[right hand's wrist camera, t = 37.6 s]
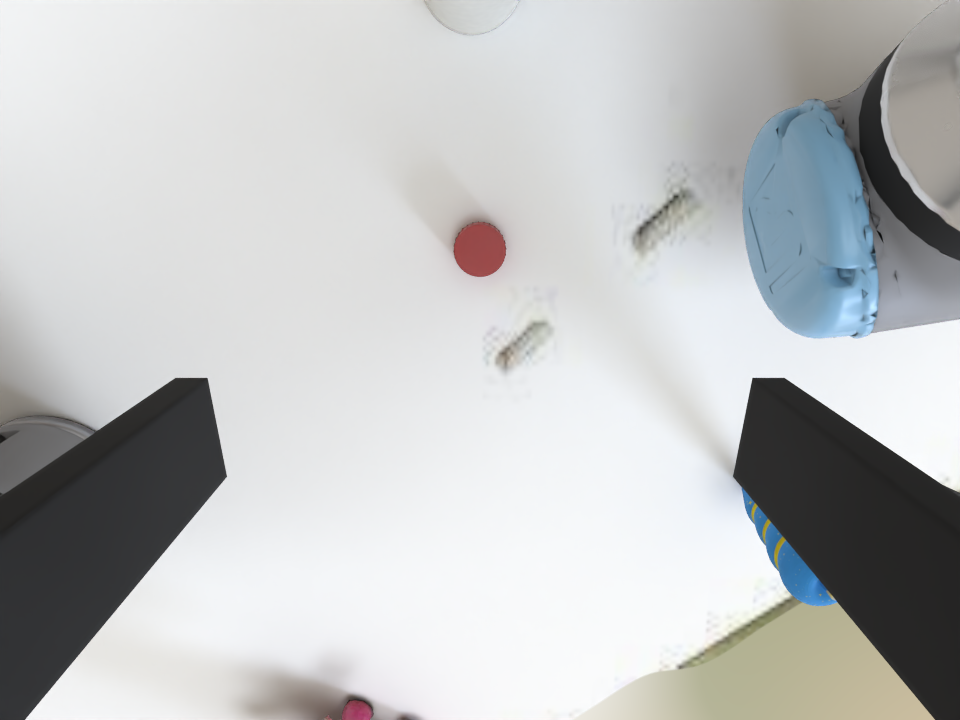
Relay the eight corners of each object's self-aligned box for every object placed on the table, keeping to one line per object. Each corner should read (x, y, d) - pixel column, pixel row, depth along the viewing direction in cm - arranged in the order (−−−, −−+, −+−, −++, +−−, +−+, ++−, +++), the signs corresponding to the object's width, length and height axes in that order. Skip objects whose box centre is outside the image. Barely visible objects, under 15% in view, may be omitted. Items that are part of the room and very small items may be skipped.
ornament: (741, 515, 52) (838, 643, 38) (705, 488, 51) (792, 610, 37) (781, 480, 50) (897, 600, 36) (745, 452, 49) (851, 564, 35)
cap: (466, 280, 44) (465, 285, 42) (446, 233, 42) (444, 236, 40) (512, 261, 43) (514, 265, 41) (493, 213, 42) (494, 215, 40)
